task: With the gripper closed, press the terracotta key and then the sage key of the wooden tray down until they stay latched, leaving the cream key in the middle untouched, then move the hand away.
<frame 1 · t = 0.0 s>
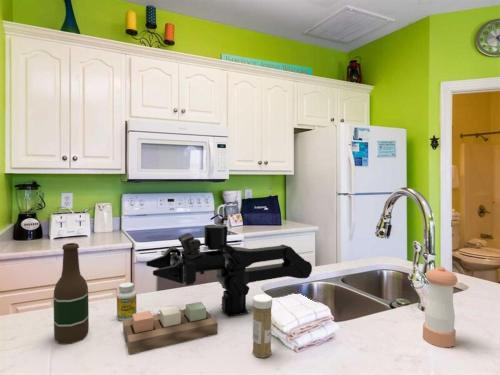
hand: (149, 268, 88), 17 cm above the countertop, tool horizontal, fingers open, 9 cm apart
sage key: (195, 311, 89), point 4 cm above the countertop, slide at 0.0 cm
wooden tray: (170, 333, 86), on the countertop
pepper shaker: (438, 341, 84), on the countertop
supplement bottle: (126, 317, 96), on the countertop
sprinkles bottle: (261, 353, 77), on the countertop
beer bottle: (71, 337, 84), on the countertop
terracotta key: (142, 321, 83), point 4 cm above the countertop, slide at 0.0 cm
cream key: (170, 316, 86), point 4 cm above the countertop, slide at 0.0 cm
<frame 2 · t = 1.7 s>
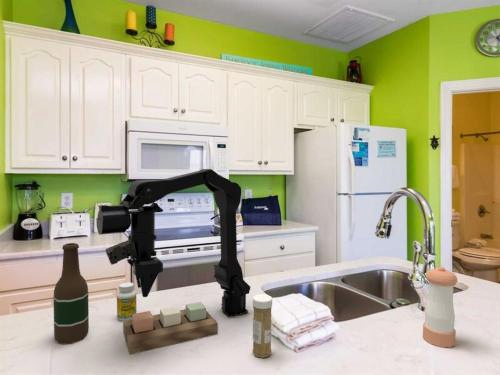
hand: (142, 292, 83), 12 cm above the countertop, tool pointing down, fingers open, 7 cm apart
nothing on the countertop moved.
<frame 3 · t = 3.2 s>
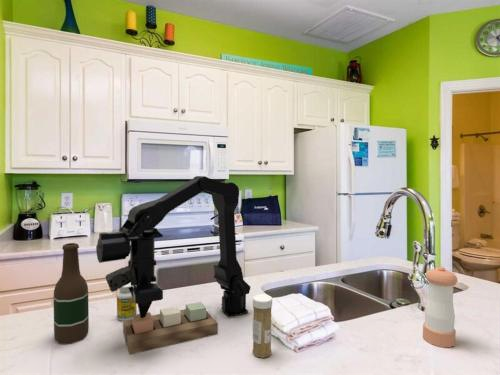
hand: (142, 317, 83), 6 cm above the countertop, tool pointing down, fingers closed, pressing on terracotta key
terracotta key: (142, 322, 83), point 4 cm above the countertop, slide at 0.4 cm, touching gripper
everything else where it was.
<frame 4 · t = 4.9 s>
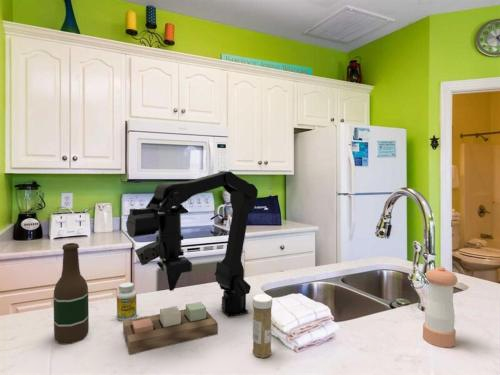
hand: (171, 290, 86), 11 cm above the countertop, tool pointing down, fingers closed
terracotta key: (142, 329, 83), point 3 cm above the countertop, slide at 1.9 cm
everything else where it was.
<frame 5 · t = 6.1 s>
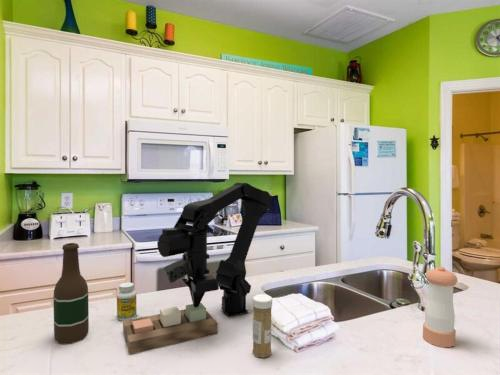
hand: (195, 306, 89), 6 cm above the countertop, tool pointing down, fingers closed, pressing on sage key
sage key: (195, 312, 89), point 4 cm above the countertop, slide at 0.2 cm, touching gripper
everything else where it was.
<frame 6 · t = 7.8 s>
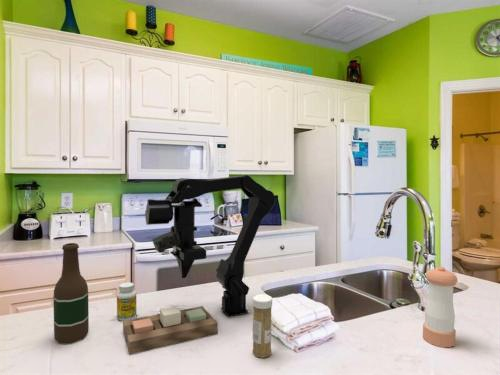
hand: (183, 277, 93), 13 cm above the countertop, tool pointing down, fingers closed
sage key: (195, 318, 89), point 3 cm above the countertop, slide at 1.9 cm
everything else where it was.
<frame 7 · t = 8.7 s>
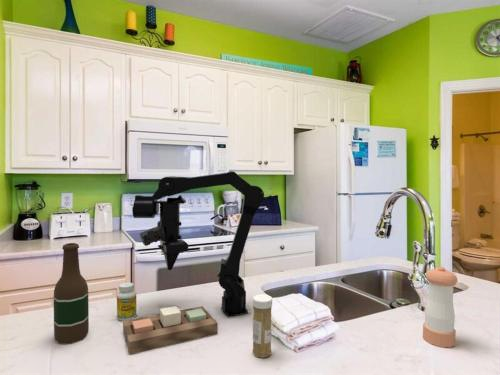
hand: (169, 269, 99), 13 cm above the countertop, tool pointing down, fingers closed
nothing on the countertop moved.
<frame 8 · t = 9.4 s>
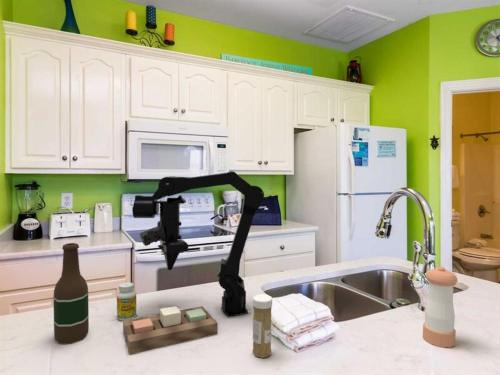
hand: (169, 269, 99), 13 cm above the countertop, tool pointing down, fingers closed
nothing on the countertop moved.
at the end: terracotta key slide at 1.9 cm; sage key slide at 1.9 cm; cream key slide at 0.0 cm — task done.
